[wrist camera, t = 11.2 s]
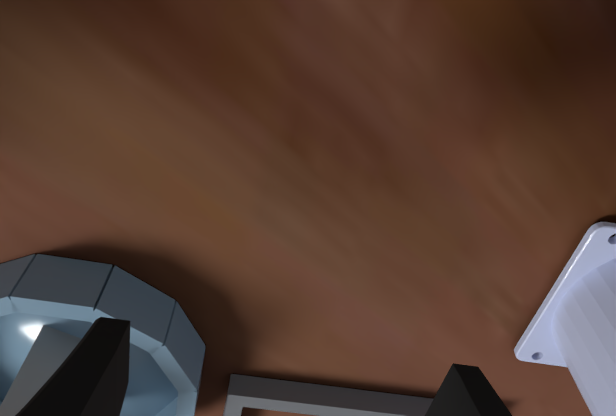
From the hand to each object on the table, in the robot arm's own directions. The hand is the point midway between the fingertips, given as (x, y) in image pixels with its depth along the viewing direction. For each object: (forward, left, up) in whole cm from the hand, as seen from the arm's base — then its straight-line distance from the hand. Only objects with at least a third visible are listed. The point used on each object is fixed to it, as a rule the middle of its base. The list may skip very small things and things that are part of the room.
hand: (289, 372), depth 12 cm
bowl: (+8, +12, -9) cm, 17 cm away
